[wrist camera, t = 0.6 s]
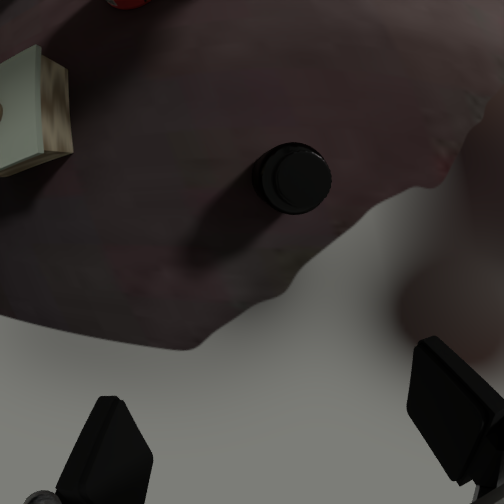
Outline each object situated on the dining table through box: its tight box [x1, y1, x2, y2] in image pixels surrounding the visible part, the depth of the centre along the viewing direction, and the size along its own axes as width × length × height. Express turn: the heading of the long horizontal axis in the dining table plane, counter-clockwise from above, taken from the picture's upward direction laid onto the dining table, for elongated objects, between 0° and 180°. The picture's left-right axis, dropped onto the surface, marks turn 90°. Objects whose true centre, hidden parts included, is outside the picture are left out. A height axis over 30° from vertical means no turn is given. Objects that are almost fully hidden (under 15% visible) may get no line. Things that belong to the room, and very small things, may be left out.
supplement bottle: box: [252, 142, 332, 215], centre depth 31 cm, size 7×7×12 cm
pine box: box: [0, 55, 73, 177], centre depth 28 cm, size 12×12×8 cm
